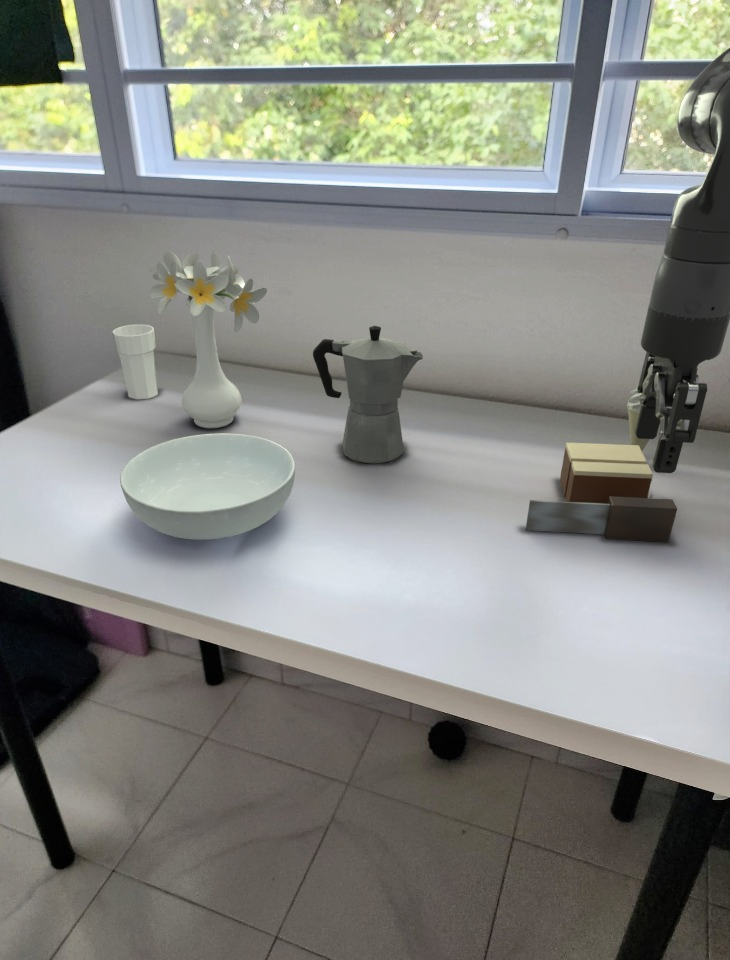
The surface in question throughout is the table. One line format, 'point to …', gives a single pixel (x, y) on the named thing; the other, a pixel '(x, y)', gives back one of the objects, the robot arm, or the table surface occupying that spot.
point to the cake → (598, 457)
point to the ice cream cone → (635, 418)
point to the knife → (606, 518)
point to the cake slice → (607, 481)
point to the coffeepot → (370, 393)
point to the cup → (137, 359)
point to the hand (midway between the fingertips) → (653, 453)
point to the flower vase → (207, 328)
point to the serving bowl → (208, 484)
